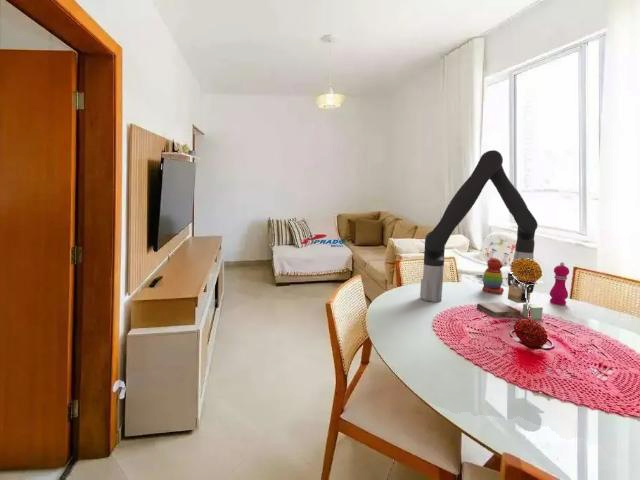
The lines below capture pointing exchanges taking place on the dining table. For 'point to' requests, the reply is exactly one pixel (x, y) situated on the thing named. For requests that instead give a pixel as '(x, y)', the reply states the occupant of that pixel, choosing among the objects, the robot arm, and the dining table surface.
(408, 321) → the dining table surface
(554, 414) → the dining table surface
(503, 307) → the base board
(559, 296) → the pepper mill
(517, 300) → the oak cube
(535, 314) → the green cube
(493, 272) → the stacking bear
